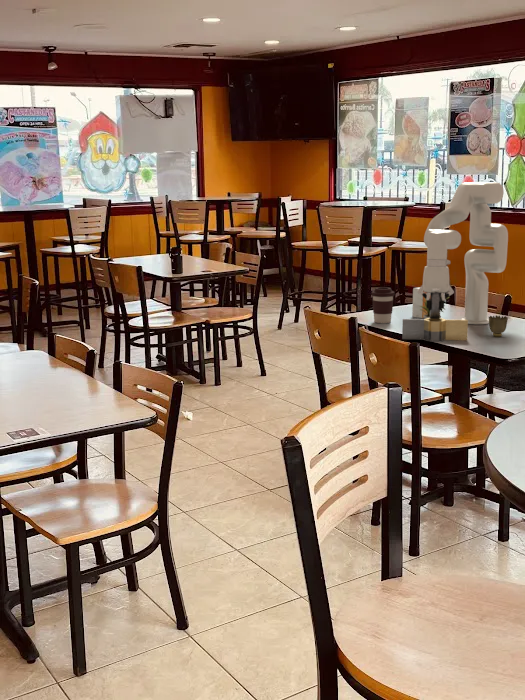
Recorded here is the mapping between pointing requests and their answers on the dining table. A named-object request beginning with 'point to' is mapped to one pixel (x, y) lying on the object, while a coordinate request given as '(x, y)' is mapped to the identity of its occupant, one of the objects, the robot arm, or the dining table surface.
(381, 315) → the coffee cup
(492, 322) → the cup
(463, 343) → the dining table surface
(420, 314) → the small box
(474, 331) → the dining table surface
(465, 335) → the hinge
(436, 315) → the hinge pin
